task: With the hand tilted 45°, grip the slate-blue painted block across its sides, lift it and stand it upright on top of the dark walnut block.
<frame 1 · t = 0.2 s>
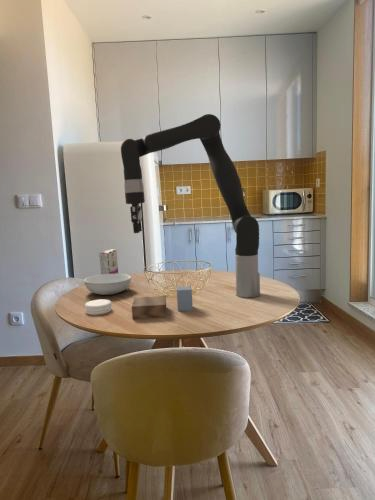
hand: (137, 232, 156), 29 cm above the table, tool pointing down, fingers open, 8 cm apart
candy bar box: (110, 283, 197), on the table
walnut block: (150, 314, 143), on the table
white round disc: (98, 311, 149), on the table
serving bowl: (108, 293, 177), on the table
slate-blue block: (184, 308, 147), on the table
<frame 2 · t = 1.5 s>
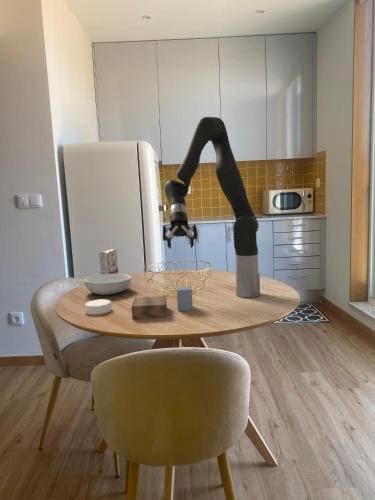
hand: (180, 247, 155), 22 cm above the table, tool tilted 45°, fingers open, 8 cm apart
nothing on the table moved.
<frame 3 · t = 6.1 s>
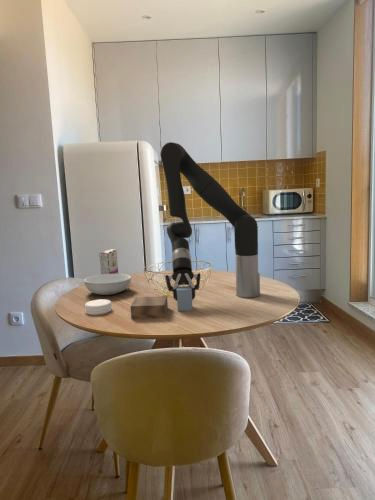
hand: (184, 298, 145), 4 cm above the table, tool tilted 45°, fingers closed on slate-blue block, 5 cm apart
slate-blue block: (184, 308, 147), on the table, touching gripper
everything else where it was.
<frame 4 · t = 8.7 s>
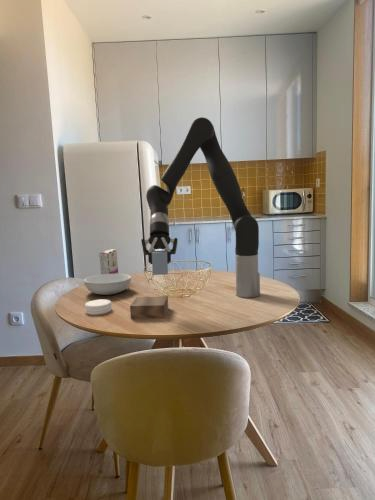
hand: (159, 262, 141), 19 cm above the table, tool tilted 45°, fingers closed on slate-blue block, 5 cm apart
slate-blue block: (160, 273, 143), point 14 cm above the table, touching gripper
everything else where it was.
when the fingers open (11 cm above the table, at t = 11.3 s): slate-blue block drops 2 cm, resting on walnut block.
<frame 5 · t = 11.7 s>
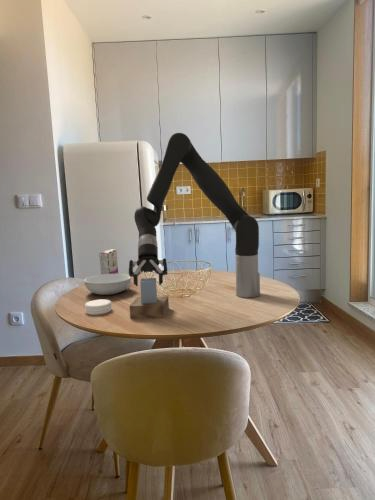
hand: (148, 284, 140), 11 cm above the table, tool tilted 45°, fingers open, 8 cm apart
walnut block: (150, 314, 143), on the table, touching slate-blue block
slate-blue block: (149, 301, 143), point 5 cm above the table, touching walnut block
everything else where it was.
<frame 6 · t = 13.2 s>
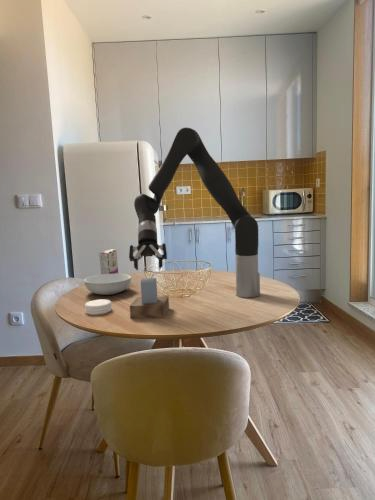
hand: (148, 268, 145), 16 cm above the table, tool tilted 45°, fingers open, 8 cm apart
nothing on the table moved.
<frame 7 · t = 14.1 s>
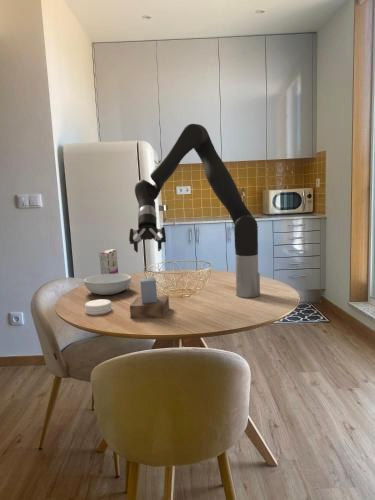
hand: (147, 250, 150), 22 cm above the table, tool tilted 45°, fingers open, 8 cm apart
walnut block: (150, 314, 144), on the table
slate-blue block: (149, 300, 143), point 5 cm above the table
everything else where it was.
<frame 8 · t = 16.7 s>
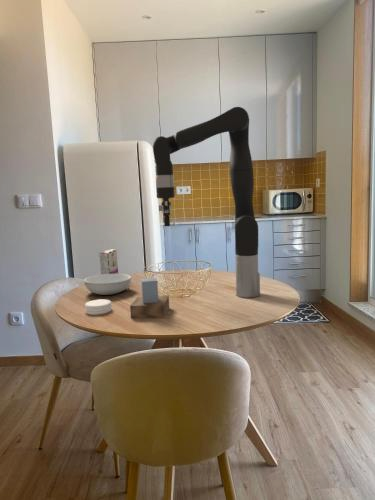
hand: (167, 225, 164), 30 cm above the table, tool pointing down, fingers open, 8 cm apart
nothing on the table moved.
at the end: slate-blue block inside the target area on the walnut block (0.1 cm from its centre), point 5.1 cm above the walnut block's base; slate-blue block tilted 1°; the gripper is holding nothing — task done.
